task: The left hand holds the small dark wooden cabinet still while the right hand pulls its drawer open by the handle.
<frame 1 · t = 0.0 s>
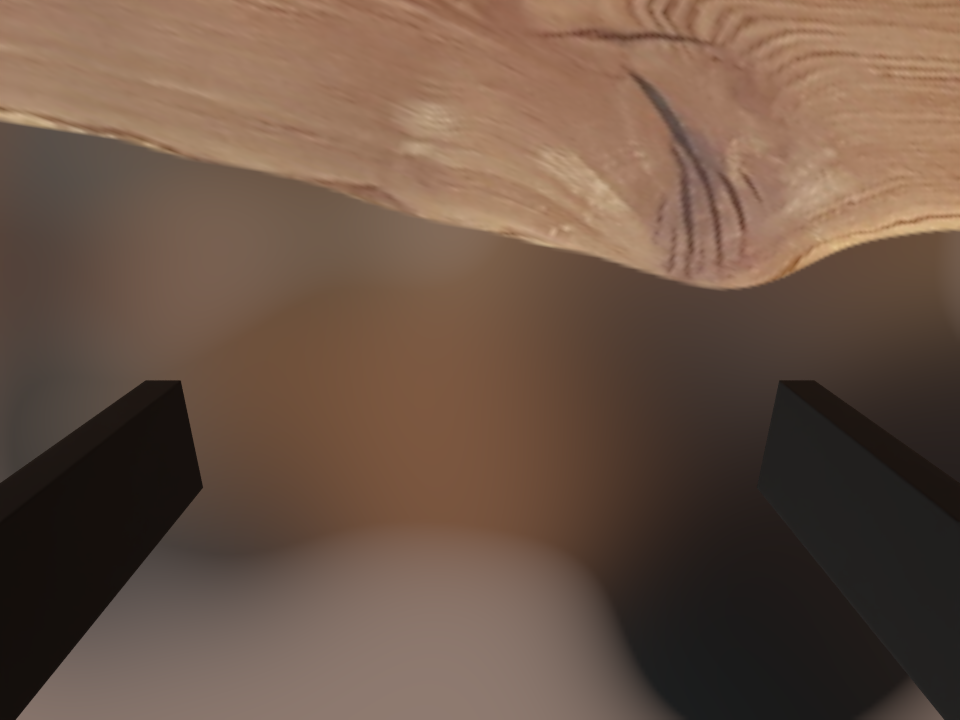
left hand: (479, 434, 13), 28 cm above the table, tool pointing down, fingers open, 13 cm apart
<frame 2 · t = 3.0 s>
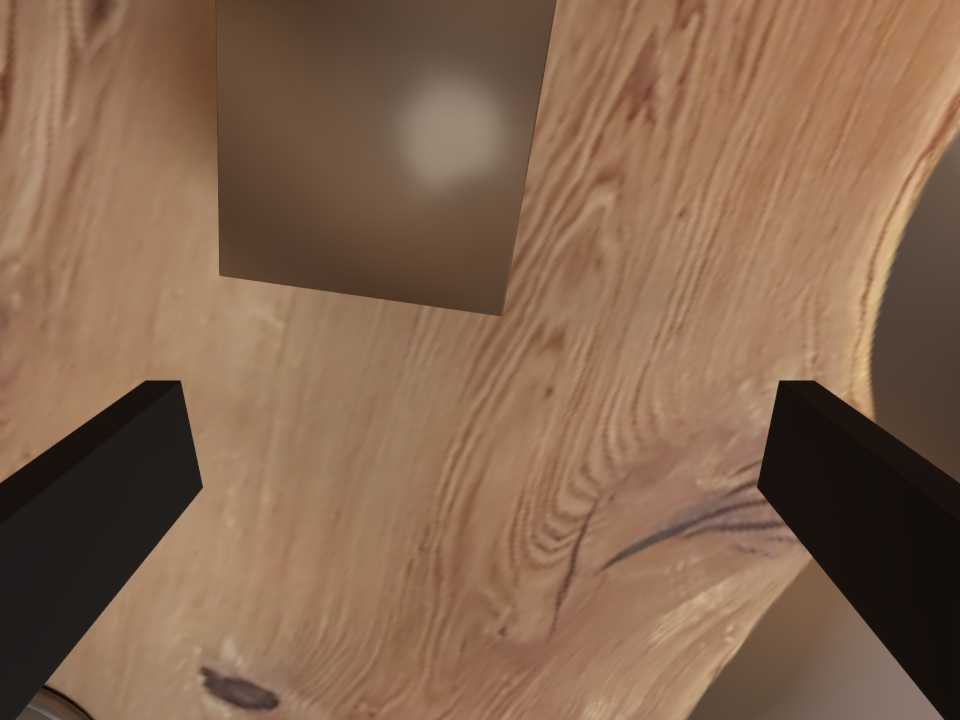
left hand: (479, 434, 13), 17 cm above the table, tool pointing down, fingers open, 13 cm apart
cabinet: (413, 44, 25), on the table
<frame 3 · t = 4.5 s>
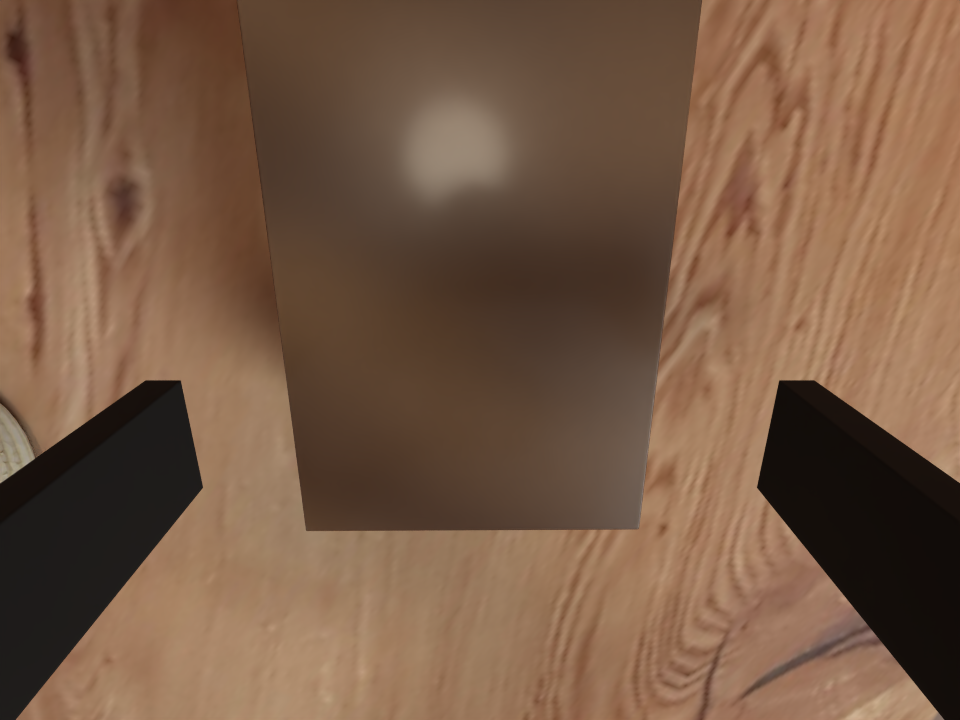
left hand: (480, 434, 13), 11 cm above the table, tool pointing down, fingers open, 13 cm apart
cabinet: (472, 195, 22), on the table
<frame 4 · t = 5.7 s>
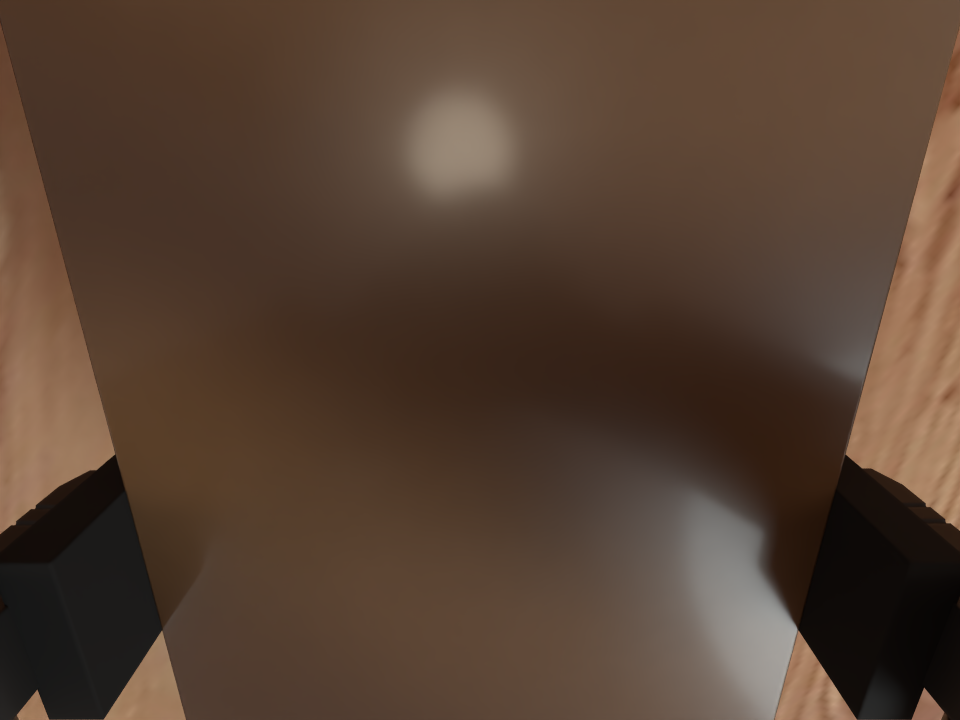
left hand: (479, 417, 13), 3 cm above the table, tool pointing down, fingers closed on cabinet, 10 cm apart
cabinet: (480, 209, 15), on the table, touching left hand
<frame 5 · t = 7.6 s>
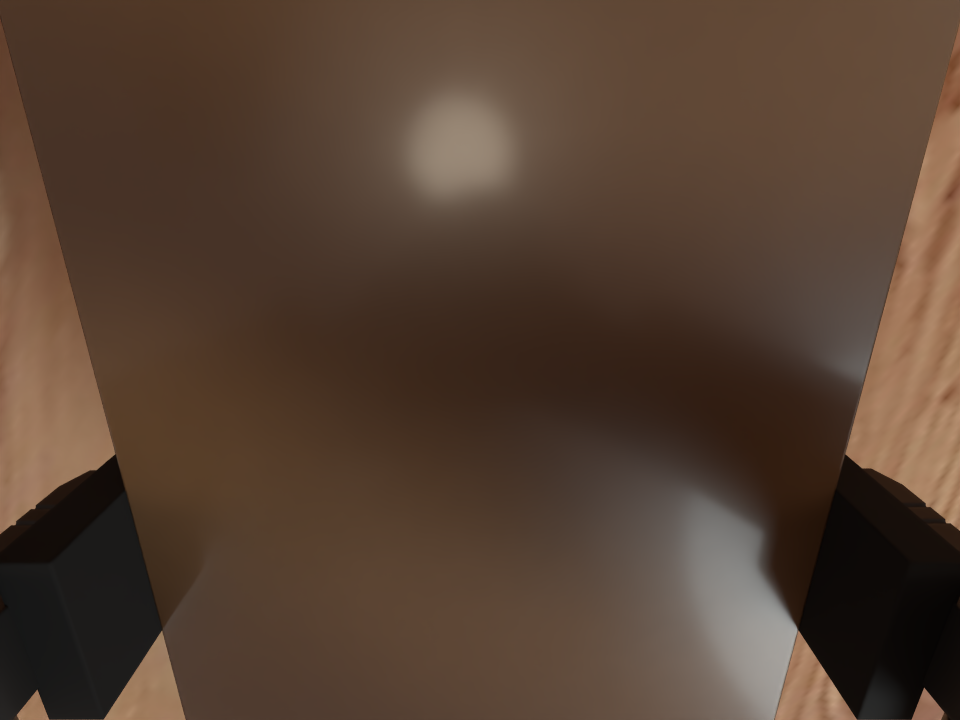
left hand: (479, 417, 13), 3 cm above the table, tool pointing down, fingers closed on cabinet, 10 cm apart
cabinet: (480, 210, 15), on the table, touching left hand
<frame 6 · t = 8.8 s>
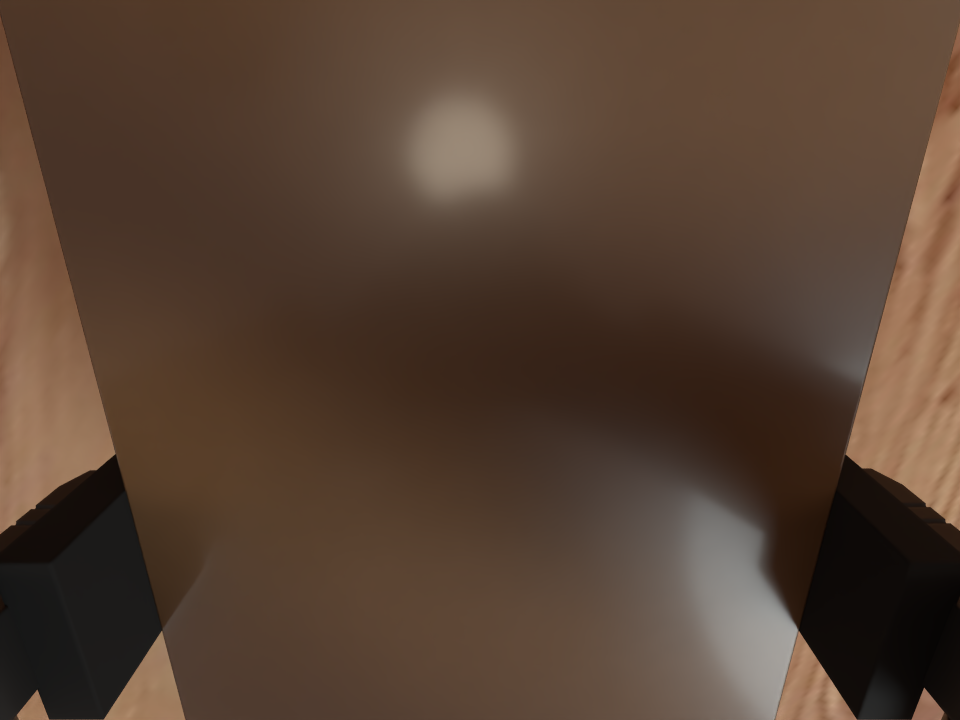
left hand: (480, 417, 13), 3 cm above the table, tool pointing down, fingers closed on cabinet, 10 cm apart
cabinet: (480, 210, 15), on the table, touching left hand
when the left hand's fingers open (3 cm above the table, at t = 10.6 s): cabinet stays where it is, on the table.
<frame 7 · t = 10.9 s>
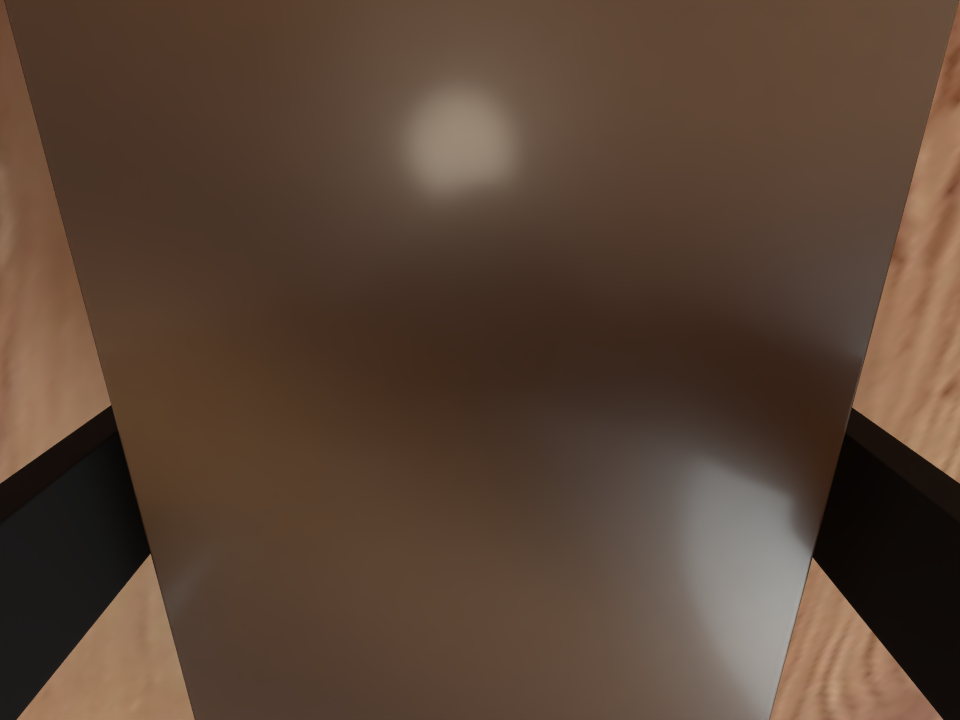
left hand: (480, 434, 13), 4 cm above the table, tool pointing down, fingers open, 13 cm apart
cabinet: (481, 200, 15), on the table
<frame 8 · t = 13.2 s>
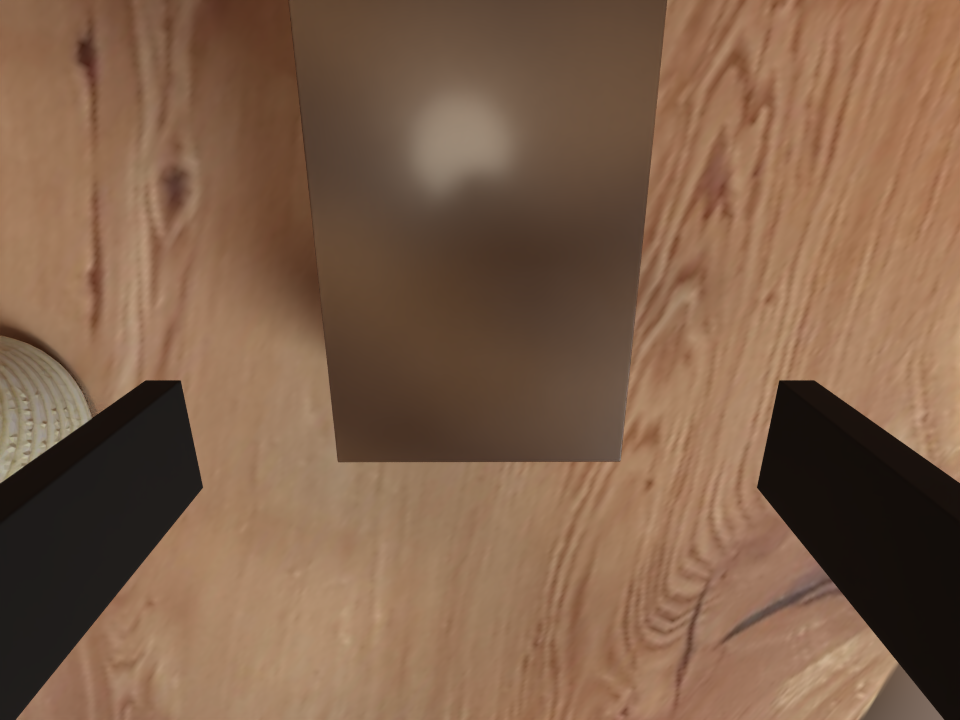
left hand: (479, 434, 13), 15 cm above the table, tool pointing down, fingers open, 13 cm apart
cabinet: (478, 179, 25), on the table
seashell: (20, 411, 29), on the table
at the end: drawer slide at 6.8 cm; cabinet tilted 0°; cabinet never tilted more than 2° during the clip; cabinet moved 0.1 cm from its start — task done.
